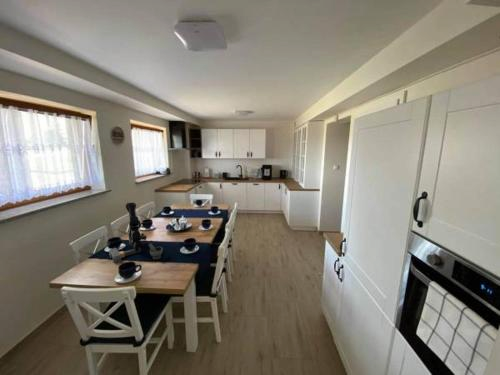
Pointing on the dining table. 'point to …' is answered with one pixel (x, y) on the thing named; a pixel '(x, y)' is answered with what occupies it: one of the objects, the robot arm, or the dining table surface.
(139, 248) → the plug
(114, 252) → the housing
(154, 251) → the mortar and pestle
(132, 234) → the robot arm
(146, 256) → the dining table surface
